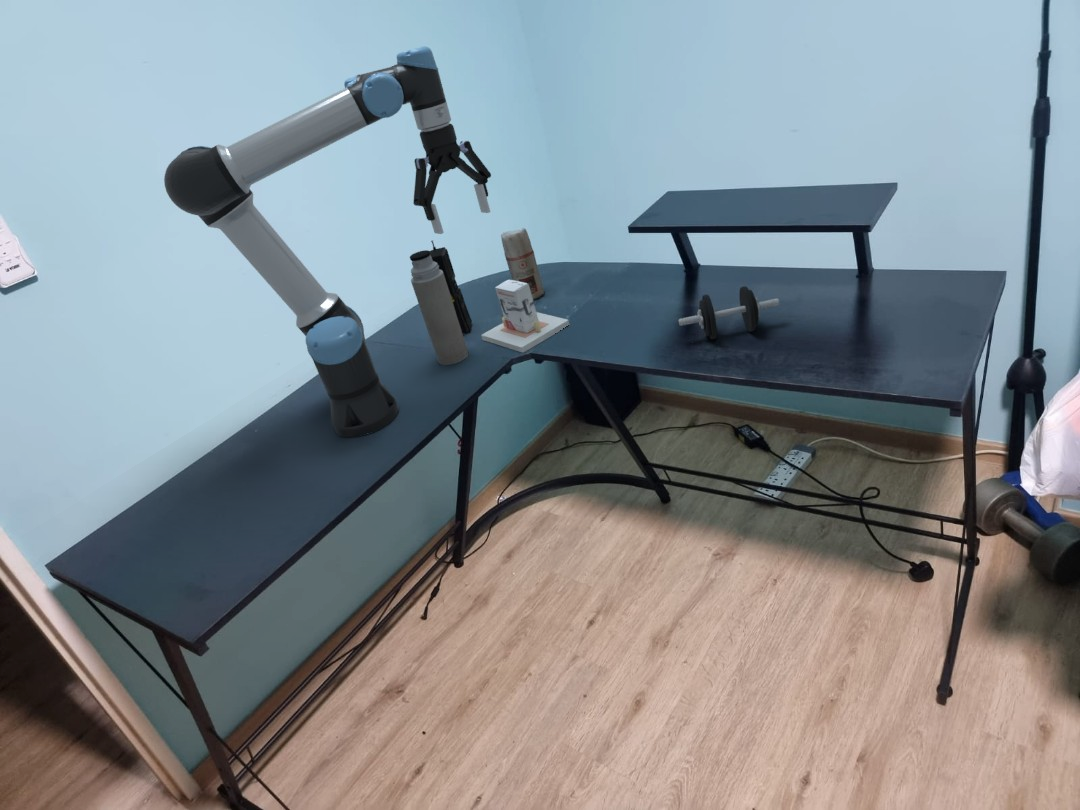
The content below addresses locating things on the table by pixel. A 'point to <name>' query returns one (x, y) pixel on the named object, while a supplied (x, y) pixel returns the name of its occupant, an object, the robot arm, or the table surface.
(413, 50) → the robot arm
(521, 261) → the spray can
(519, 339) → the pin plate
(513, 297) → the ink box
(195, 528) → the table surface
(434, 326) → the thermos bottle
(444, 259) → the portable radio
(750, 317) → the dumbbell
